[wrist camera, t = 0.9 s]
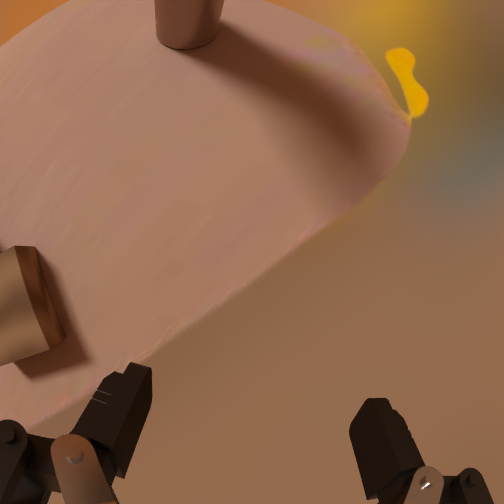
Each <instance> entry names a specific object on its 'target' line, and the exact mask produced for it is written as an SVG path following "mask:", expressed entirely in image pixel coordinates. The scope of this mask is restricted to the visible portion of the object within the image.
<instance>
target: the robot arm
mask: <svg viewBox="0 0 504 504" xmlns="http://www.w3.org/2000/svg"><path fill="white" fill-rule="evenodd" d="M223 3H224V0H155V20H156V34H157V38H158V39H159V41H160V42H161V43H163V44H164V45H166V46H168V47H171V48H175V49H192V48H197V47H201V46H203V45H205V44H207V43H209V42H210V41H212V40H213V39H214V38H215V36H216V34H217V31H218V26H219V21H220V17H221V13H222V8H223ZM151 403H152V370H151V368H150V367H147V366H143V365H140V364H136V363H133V362H131V363H129V365H128V366H127V368H126V370H125V372H124V373H123V374H121V373H118V372H115V371H114V372H113V373H111V374H110V375H108V376H107V377H105V378H104V379H103V380H102V382H101V384H100V385H99V387H98V388H97V391H96V392H95V393H94V395H93V397H92V399H91V400H90V402H89V403H88V405H87V407H86V408H85V410H84V412H83V413H82V415H81V417H80V418H79V420H78V422H77V424H76V425H75V427H74V429H73V430H72V431H71V432H70V433H69V434H66V435H62V436H60V437H58V438H57V439H51V438H45V437H40V436H36V435H32V434H28V433H27V432H26V431H25V429H24V428H23V426H22V425H21V424H19V423H18V422H16V421H13V420H2V421H0V504H47V503H48V500H49V497H50V495H51V492H52V491H55V492H59V493H62V495H63V498H64V501H65V504H119V502H118V499H117V497H116V495H115V493H114V491H113V489H112V487H111V486H112V483H113V481H114V478H115V476H117V477H120V478H123V479H124V478H125V475H126V472H127V469H128V467H129V464H130V461H131V458H132V456H133V453H134V450H135V447H136V444H137V442H138V439H139V437H140V434H141V431H142V429H143V426H144V423H145V421H146V418H147V415H148V413H149V410H150V407H151ZM349 436H350V439H351V442H352V446H353V450H354V453H355V457H356V461H357V464H358V468H359V472H360V475H361V479H362V483H363V487H364V491H365V494H366V499H367V500H370V499H376V498H378V500H379V503H378V504H494V503H493V500H492V498H491V495H490V493H489V490H488V488H487V486H486V483H485V481H484V479H483V477H482V475H481V473H480V472H479V471H478V470H476V469H474V468H466V469H464V470H463V471H462V472H461V473H460V474H459V475H458V476H442V474H441V473H440V472H439V471H438V470H437V469H435V468H433V467H429V466H425V464H424V462H423V459H422V457H421V455H420V453H419V450H418V448H417V446H416V444H415V442H414V439H413V438H412V437H411V433H410V431H409V430H408V427H407V425H406V423H405V420H404V418H403V417H402V416H401V415H400V414H399V413H398V412H397V411H396V410H393V409H392V407H391V405H390V403H389V401H388V399H386V398H368V399H367V400H366V401H365V402H364V404H363V405H362V407H361V408H360V410H359V411H358V413H357V415H356V416H355V418H354V419H353V421H352V422H351V425H350V429H349Z"/></svg>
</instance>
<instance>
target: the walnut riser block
mask: <svg viewBox="0 0 504 504" xmlns="http://www.w3.org/2000/svg"><path fill="white" fill-rule="evenodd" d="M65 338H66V335H65V333H64V331H63V328H62V326H61V324H60V321H59V319H58V316H57V314H56V311H55V309H54V306H53V303H52V301H51V298H50V295H49V292H48V290H47V287H46V284H45V281H44V278H43V274H42V271H41V268H40V264H39V261H38V258H37V254H36V250H35V247H32V246H13V247H11V248H9V249H7V250H6V251H4V252H2V253H1V254H0V366H3V365H6V364H9V363H12V362H15V361H18V360H21V359H24V358H27V357H30V356H33V355H36V354H38V353H41V352H44V351H47V350H50V349H51V348H53V347H54V346H56V345H57V344H58V343H60V342H61V341H62V340H64V339H65Z"/></svg>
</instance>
